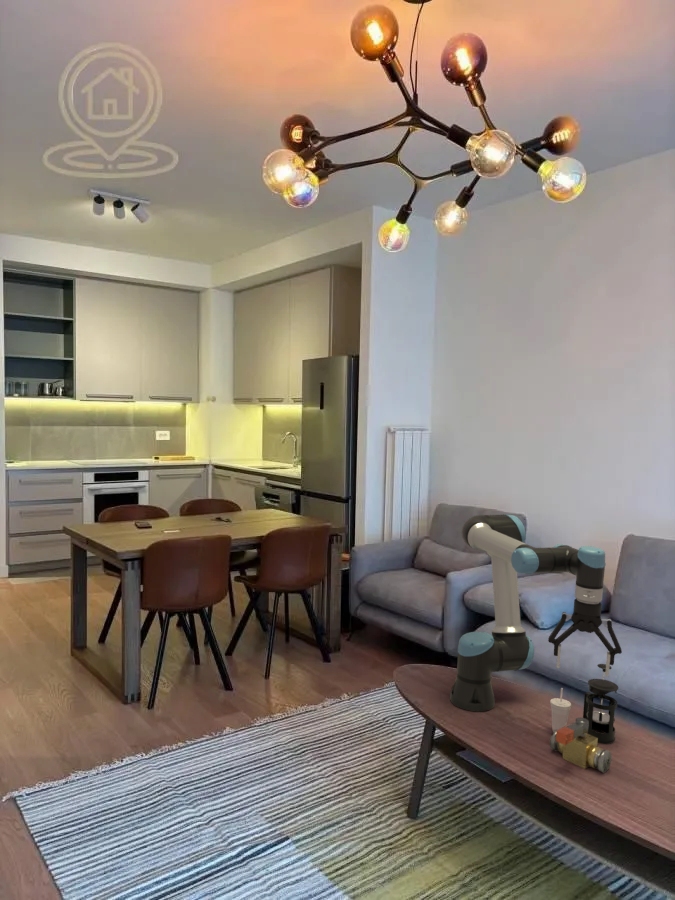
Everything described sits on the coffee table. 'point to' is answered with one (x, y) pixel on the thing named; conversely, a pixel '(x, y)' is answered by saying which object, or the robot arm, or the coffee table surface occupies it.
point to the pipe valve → (583, 752)
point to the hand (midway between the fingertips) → (582, 670)
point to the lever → (572, 731)
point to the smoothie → (559, 712)
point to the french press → (599, 718)
